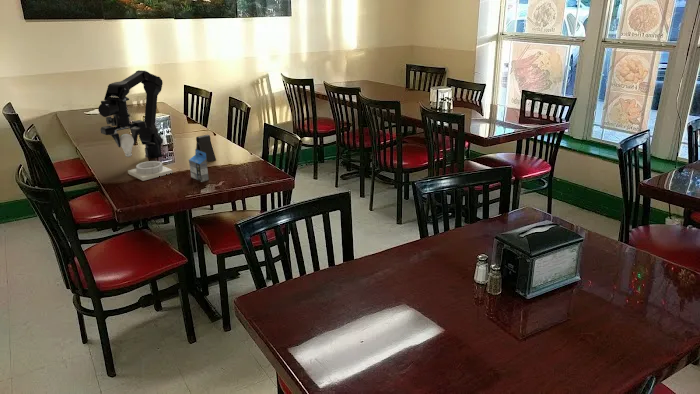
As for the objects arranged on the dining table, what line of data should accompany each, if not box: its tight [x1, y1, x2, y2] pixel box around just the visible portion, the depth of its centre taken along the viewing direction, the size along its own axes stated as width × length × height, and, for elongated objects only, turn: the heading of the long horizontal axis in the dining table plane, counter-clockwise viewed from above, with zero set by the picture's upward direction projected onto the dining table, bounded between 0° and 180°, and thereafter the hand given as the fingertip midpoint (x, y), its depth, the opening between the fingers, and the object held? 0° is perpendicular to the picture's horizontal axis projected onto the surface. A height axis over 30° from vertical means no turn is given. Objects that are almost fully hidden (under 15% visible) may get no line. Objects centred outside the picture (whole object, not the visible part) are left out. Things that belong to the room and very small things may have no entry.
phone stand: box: [195, 134, 217, 163], centre depth 247 cm, size 9×6×12 cm, turn 46°
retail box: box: [188, 148, 209, 183], centre depth 221 cm, size 9×4×12 cm, turn 47°
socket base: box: [127, 160, 173, 182], centre depth 230 cm, size 14×14×4 cm
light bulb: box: [119, 133, 135, 158], centre depth 235 cm, size 7×7×11 cm
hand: (126, 145), depth 235 cm, fingers closed on light bulb, 6 cm apart
